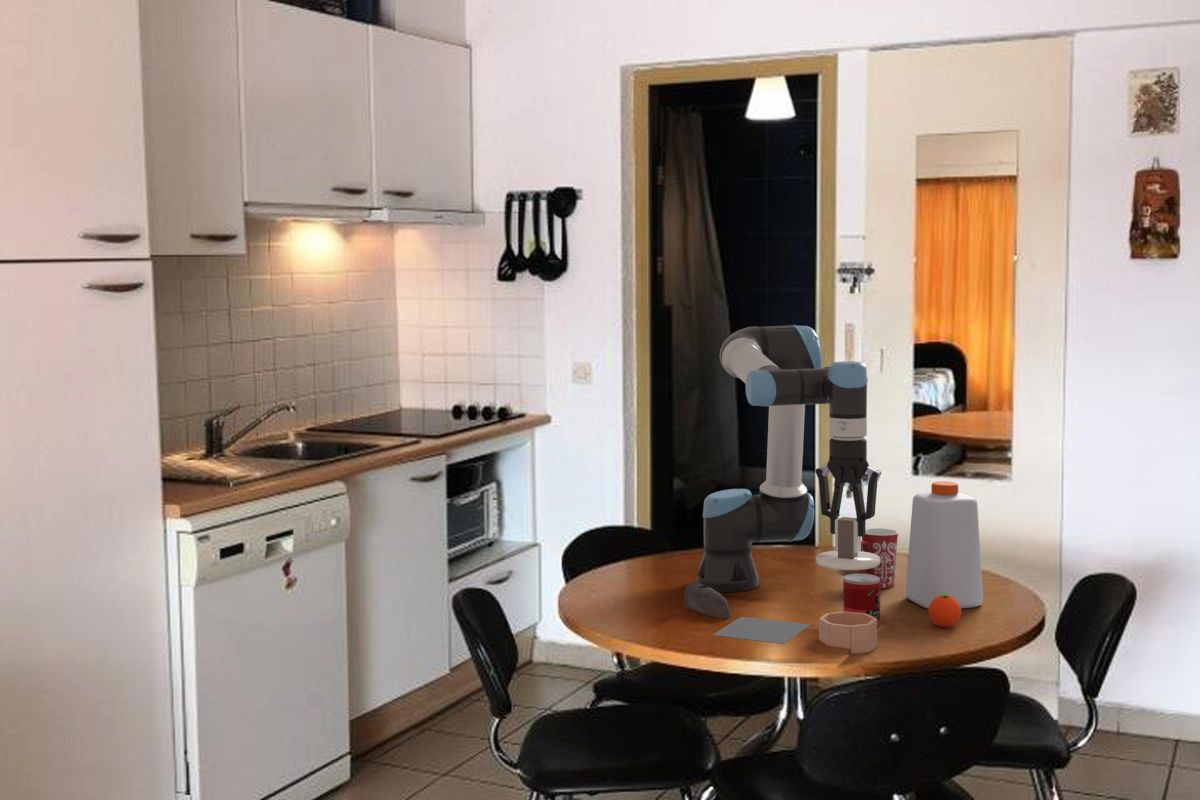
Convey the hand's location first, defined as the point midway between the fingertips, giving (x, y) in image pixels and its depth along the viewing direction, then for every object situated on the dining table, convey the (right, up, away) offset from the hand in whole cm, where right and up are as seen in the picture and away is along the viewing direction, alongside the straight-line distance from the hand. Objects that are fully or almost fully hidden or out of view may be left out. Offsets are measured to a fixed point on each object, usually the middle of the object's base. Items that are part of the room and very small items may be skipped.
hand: (847, 550), depth 282 cm
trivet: (-16, -20, +11) cm, 28 cm away
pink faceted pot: (0, -20, +2) cm, 20 cm away
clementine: (+24, -18, +17) cm, 35 cm away
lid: (0, -2, 0) cm, 3 cm away
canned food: (+6, -19, +17) cm, 26 cm away
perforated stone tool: (-26, -18, +26) cm, 42 cm away
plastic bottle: (+29, -16, +37) cm, 49 cm away
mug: (+16, -15, +53) cm, 57 cm away
